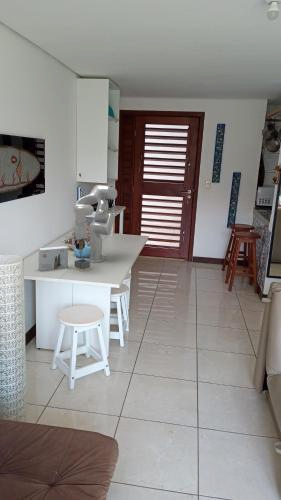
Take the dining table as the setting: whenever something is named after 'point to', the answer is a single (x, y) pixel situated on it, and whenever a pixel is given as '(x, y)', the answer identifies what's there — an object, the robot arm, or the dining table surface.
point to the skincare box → (53, 258)
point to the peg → (80, 244)
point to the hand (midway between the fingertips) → (80, 247)
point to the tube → (82, 265)
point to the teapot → (82, 252)
